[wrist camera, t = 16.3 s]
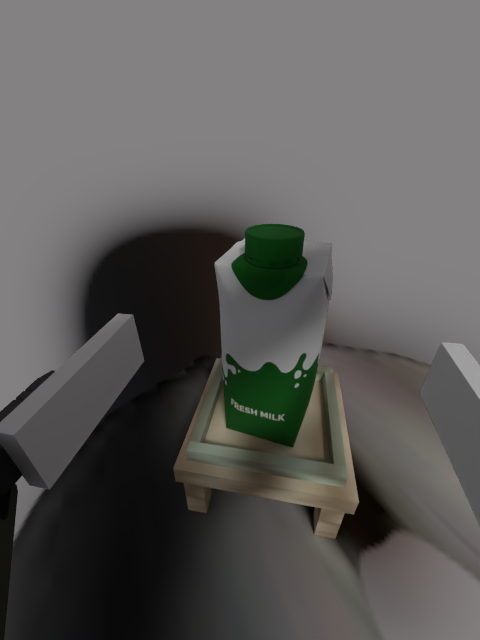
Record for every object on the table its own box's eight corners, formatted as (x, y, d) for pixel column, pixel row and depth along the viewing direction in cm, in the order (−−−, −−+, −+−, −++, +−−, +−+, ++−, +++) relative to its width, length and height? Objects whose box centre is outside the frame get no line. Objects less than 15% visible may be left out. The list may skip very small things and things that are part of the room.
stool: (327, 414, 41) (339, 363, 36) (341, 545, 28) (362, 491, 23) (218, 399, 44) (216, 349, 39) (182, 513, 30) (171, 458, 25)
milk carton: (214, 433, 29) (200, 233, 19) (242, 375, 37) (244, 208, 26) (301, 459, 27) (340, 247, 16) (313, 392, 34) (345, 215, 24)
